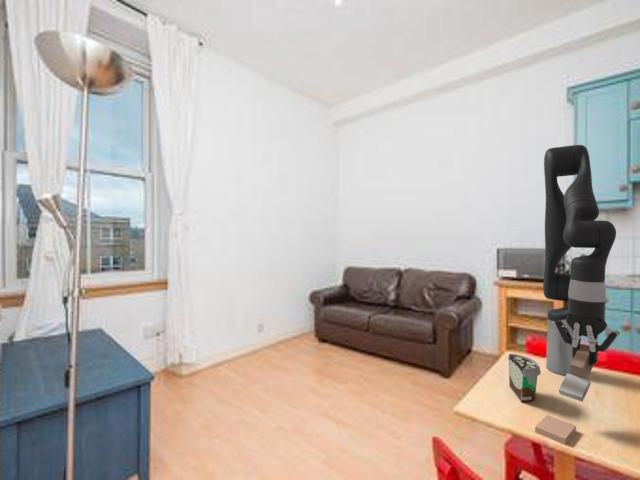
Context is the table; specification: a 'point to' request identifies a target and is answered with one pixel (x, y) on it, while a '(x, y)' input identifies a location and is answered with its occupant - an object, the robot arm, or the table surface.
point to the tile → (555, 429)
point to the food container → (523, 377)
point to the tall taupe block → (577, 375)
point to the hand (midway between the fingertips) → (584, 362)
